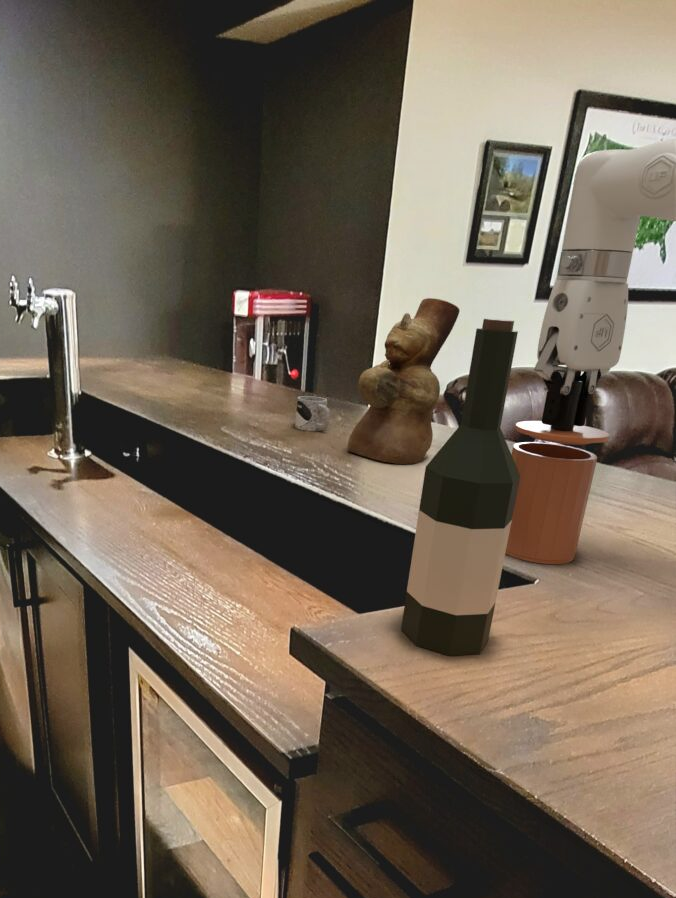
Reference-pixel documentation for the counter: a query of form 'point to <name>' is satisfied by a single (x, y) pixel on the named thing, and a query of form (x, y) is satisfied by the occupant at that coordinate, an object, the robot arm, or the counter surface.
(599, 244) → the robot arm
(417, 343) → the ceramic vessel
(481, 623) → the wine bottle
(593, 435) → the shaker lid
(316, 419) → the mug
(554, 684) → the counter surface
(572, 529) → the cup
